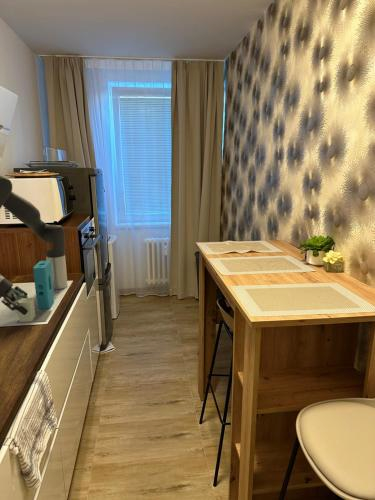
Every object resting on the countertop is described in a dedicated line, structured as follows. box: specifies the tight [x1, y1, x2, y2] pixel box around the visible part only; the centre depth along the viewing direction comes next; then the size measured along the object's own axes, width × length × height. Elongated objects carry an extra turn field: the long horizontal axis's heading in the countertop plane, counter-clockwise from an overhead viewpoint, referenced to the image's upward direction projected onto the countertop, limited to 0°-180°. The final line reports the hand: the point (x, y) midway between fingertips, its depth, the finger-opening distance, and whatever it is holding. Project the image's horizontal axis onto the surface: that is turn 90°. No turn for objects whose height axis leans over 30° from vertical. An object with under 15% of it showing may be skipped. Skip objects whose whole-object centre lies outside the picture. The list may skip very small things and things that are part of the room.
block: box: [32, 260, 55, 311], centre depth 159 cm, size 12×5×20 cm, turn 8°
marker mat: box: [16, 309, 53, 324], centre depth 150 cm, size 11×12×1 cm
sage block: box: [17, 297, 36, 323], centre depth 146 cm, size 5×5×8 cm
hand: (29, 309), depth 146 cm, fingers open, 8 cm apart
